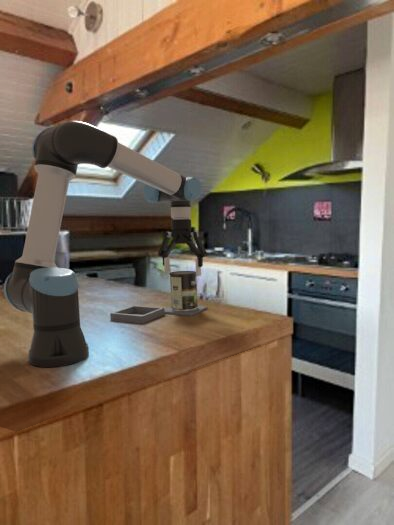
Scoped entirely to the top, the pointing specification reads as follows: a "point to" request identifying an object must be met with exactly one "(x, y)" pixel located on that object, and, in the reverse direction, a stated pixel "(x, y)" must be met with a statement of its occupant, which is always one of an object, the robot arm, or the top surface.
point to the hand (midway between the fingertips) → (182, 275)
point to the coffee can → (183, 291)
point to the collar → (128, 317)
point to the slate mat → (188, 313)
